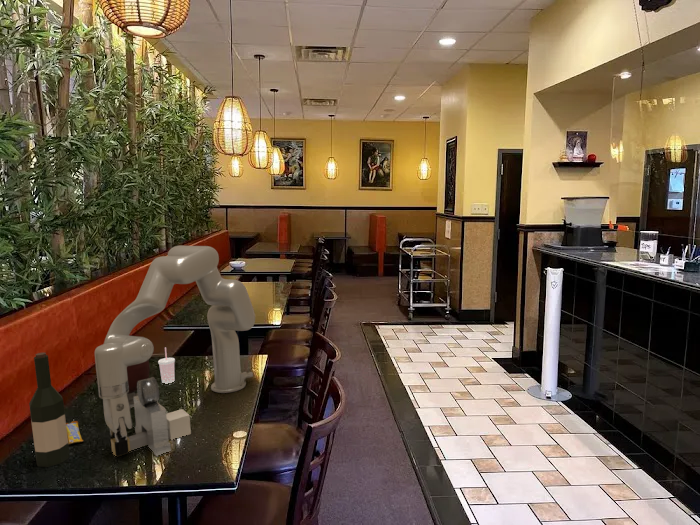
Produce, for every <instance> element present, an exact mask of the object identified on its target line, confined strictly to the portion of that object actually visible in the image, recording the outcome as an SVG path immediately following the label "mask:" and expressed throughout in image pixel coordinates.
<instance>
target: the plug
mask: <svg viewBox="0 0 700 525" xmlns="http://www.w3.org/2000/svg"><path fill="white" fill-rule="evenodd" d="M190 416H191V415H190V414H189V413H188V412H186V411H185V410H184V409H183V408H181V409H178V410H175V411H171V412H166V418H167V429H168V440H170V439H171V440H170V441H174V440H176V439H175V438H178V439H180V438H179V437H181V438H183V437H182V436H184V437H187V436H189V435H191V434H192V430H191V417H190ZM186 435H187V436H186ZM173 439H174V440H173ZM127 441H128V452H129V451H131V450H134V449H137V448H140V447H142V446H145V445H148V438H147V431H145V432H142V433H139V434H136V433H135V434H133V435H128V436H127ZM115 442H116V440H115V438H113V439H110V445H111V446H110V448H111V447H112V448H111V453H112V452H113V453H112V454H113V456H114V455H115V456H116V452H115ZM140 449H141V448H140ZM137 450H138V449H137ZM134 451H135V450H134ZM131 452H132V451H131ZM129 453H130V452H129ZM115 456H114V457H115Z"/></svg>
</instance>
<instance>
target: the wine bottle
mask: <svg viewBox="0 0 700 525" xmlns="http://www.w3.org/2000/svg"><path fill="white" fill-rule="evenodd" d="M33 359H34V360H33V362H34V369H35V377H36V385H37V388H36V389H35V392H34V394H33V396H32V397H31V399H30V400H29V403H28V404H29V412H30V419H31V420H30V422H31V429H32V436H33V445H34V453H35V460H36V461H35V462H36V465H37V466H36V467H42V468H49V467H53V466H56V465H59V464H60V465H61V464H63V463H64V462H65V461H67V460H68V459H69V458H70V457H71V456H70V448H69V446H70V445H69V444H68V437H67V429H66V423H67V421H66V412H65V404H64V398H63V396H62V395H61V394H60V393H59V391H58V390H57V389H56V387H54V386H53V385H52V379H51V371H50V362H49V356H48V354H47V353H46V352H38V353H35V355H34V357H33Z"/></svg>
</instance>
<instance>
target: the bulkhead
mask: <svg viewBox="0 0 700 525" xmlns="http://www.w3.org/2000/svg"><path fill="white" fill-rule="evenodd" d="M136 393H138V396H135V397H133V398H134V408H133V409H134V416H135V417H134V418H135V419H134V420H135V425H134V431H135V432H134V433H135V434H139V433H142V432H145V431H147V438H148V446H147V447H149V448H150V449H151V450H152V451H153V452H154V453H153V452H152V451H151V450H150V449H149V448H148V449H149V450H150V451H151V452H152V453H153V454H154V456H156V457H159V456H158V455H160V456H162V455H161V454H163V453H166V452H169V451H171V452H172V446H171V442H170V441H169V439H168V429H167V418H166V414H167V409H166V408H165V406H163V405H161V404H160V403H159V400H160V389H159V385H158V382H157V379H156V378H155V377H154V376H151V377H149V378H148V379H144V380H140V381H138V382H137V391H136ZM169 453H170V452H169ZM166 454H167V453H166ZM163 455H164V454H163Z"/></svg>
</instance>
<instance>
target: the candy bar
mask: <svg viewBox="0 0 700 525" xmlns="http://www.w3.org/2000/svg"><path fill="white" fill-rule="evenodd" d="M66 429H67V438H68V445H72V444H77V443H82V442H84V439H83V438H82V435H81V433H80V429H79V421H78V420H75V421H73V420H72V421H70V423H69V422H66Z"/></svg>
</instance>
